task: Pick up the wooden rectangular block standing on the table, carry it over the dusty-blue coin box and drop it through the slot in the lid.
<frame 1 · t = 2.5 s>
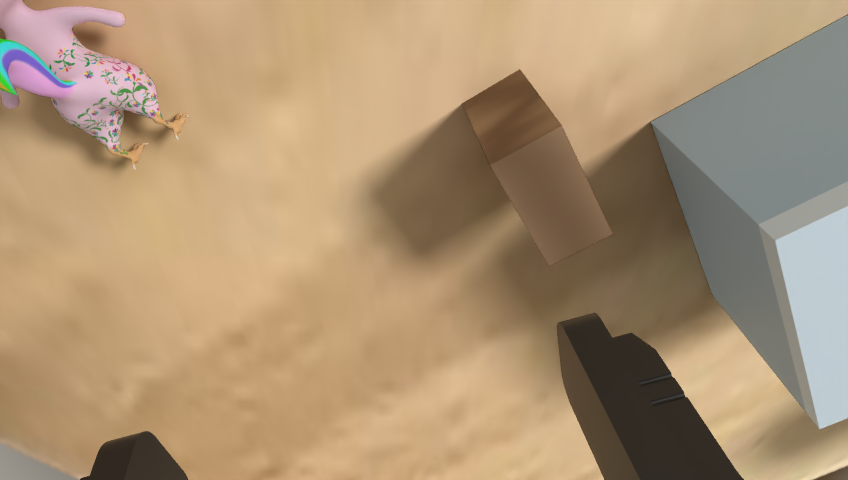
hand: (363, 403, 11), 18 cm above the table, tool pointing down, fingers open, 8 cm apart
wooden rectangular block: (517, 136, 28), on the table
coin box: (828, 147, 31), on the table
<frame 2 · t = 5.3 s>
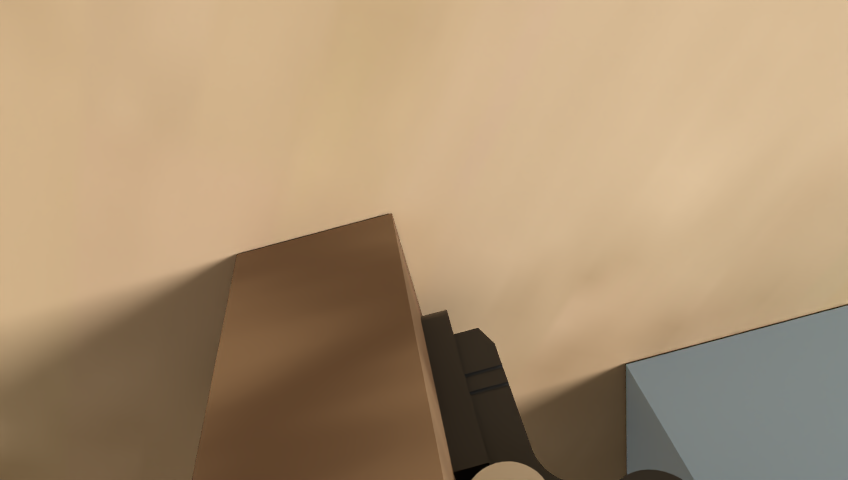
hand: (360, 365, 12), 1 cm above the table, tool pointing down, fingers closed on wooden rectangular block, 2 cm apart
wooden rectangular block: (358, 343, 13), on the table, touching gripper
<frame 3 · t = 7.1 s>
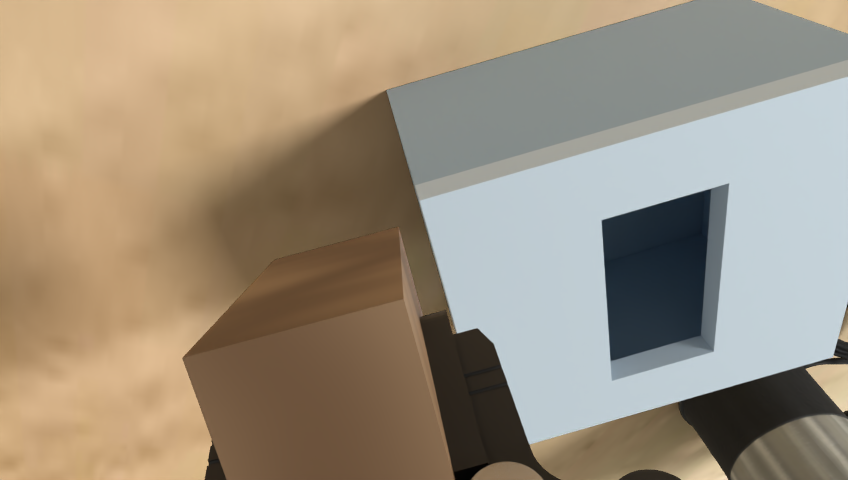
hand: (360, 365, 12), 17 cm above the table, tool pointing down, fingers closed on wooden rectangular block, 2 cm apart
wooden rectangular block: (371, 360, 14), point 15 cm above the table, tilted 24°, touching gripper
coin box: (568, 172, 30), on the table
milk frother: (777, 346, 42), on the table
when the fingers open (11 cm above the table, at t = 8.9 s): wooden rectangular block drops 8 cm and tips over, resting on coin box.
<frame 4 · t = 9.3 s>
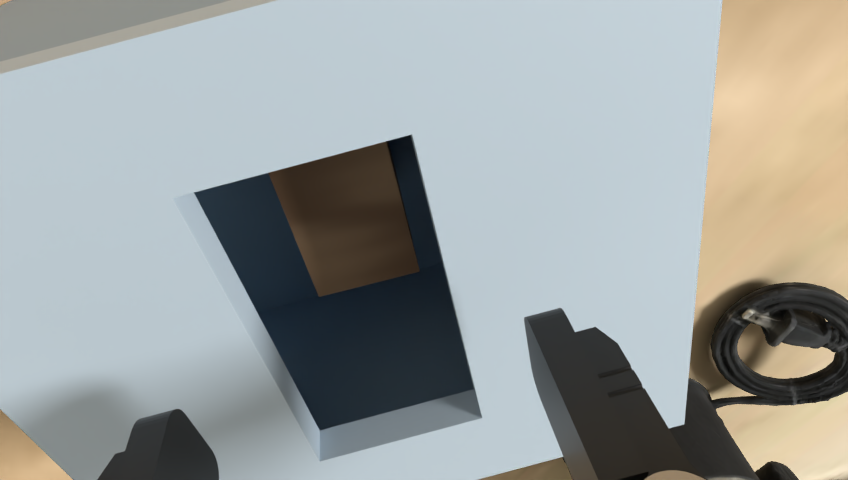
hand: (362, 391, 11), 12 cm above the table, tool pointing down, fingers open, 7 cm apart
wooden rectangular block: (362, 227, 19), point 4 cm above the table, tilted 90°, touching coin box
coin box: (341, 141, 21), on the table
milk frother: (682, 379, 33), on the table
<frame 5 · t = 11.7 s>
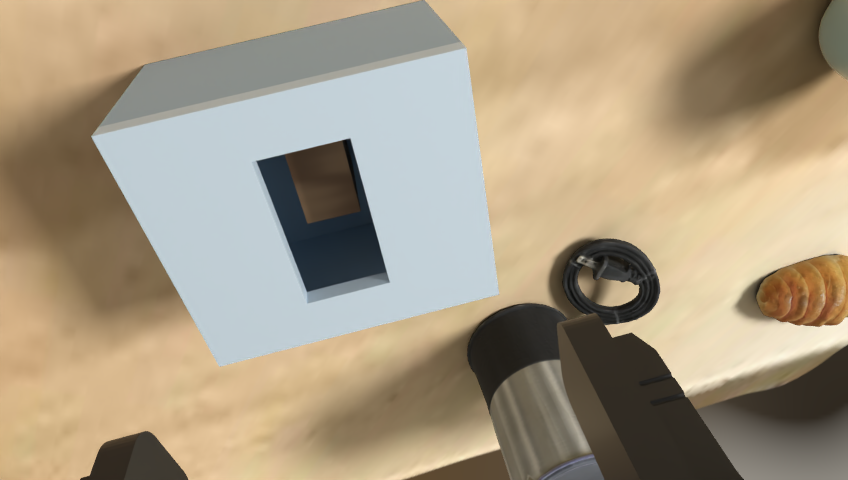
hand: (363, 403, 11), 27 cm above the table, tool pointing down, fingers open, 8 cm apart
pastry: (802, 282, 52), on the table
wooden rectangular block: (331, 191, 34), point 4 cm above the table, tilted 90°, touching coin box
coin box: (320, 144, 36), on the table
milk frother: (549, 309, 48), on the table
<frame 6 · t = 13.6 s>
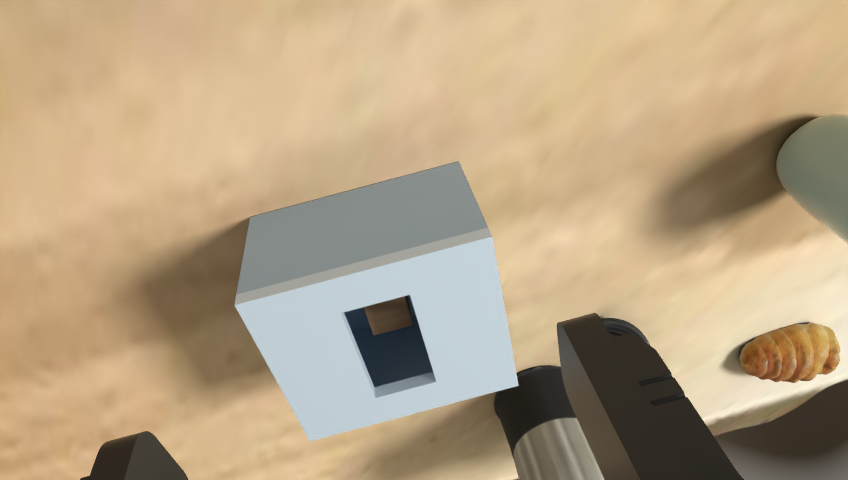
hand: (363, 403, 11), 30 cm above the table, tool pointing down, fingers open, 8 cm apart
pastry: (780, 343, 62), on the table
wooden rectangular block: (389, 303, 45), point 4 cm above the table, tilted 90°, touching coin box
coin box: (378, 261, 47), on the table
milk frother: (562, 369, 58), on the table
cup: (804, 146, 47), on the table
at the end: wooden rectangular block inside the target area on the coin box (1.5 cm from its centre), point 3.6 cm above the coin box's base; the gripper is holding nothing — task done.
